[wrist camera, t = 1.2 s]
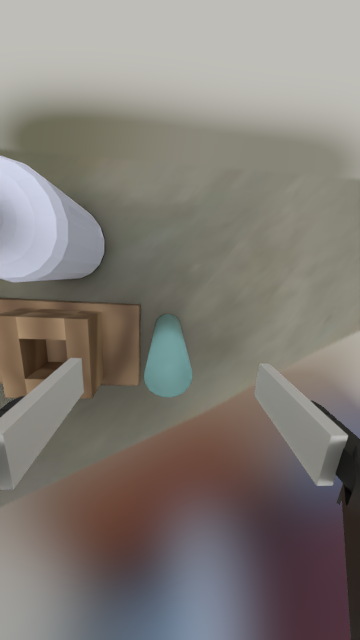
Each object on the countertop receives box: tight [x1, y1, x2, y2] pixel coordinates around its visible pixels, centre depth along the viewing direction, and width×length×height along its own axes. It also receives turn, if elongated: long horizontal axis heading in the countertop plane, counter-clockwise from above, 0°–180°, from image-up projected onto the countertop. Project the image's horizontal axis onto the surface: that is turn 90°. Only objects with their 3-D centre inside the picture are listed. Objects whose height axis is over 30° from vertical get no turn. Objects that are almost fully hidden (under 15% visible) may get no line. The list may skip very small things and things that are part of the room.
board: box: [0, 298, 140, 398], centre depth 25 cm, size 20×12×6 cm, turn 87°
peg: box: [144, 314, 192, 397], centre depth 21 cm, size 4×4×14 cm
